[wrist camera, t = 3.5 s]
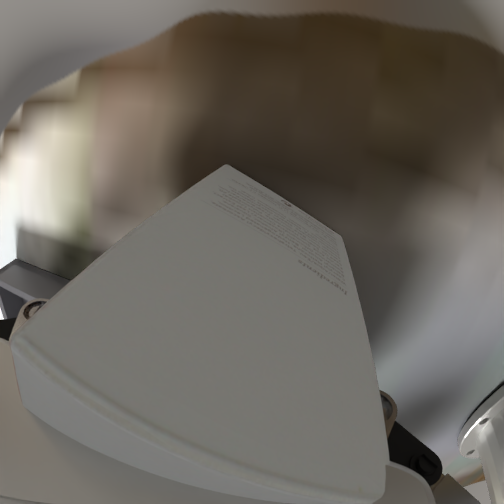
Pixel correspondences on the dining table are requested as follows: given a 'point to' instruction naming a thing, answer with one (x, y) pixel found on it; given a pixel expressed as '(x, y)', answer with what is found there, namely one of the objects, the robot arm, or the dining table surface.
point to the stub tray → (25, 286)
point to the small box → (217, 352)
